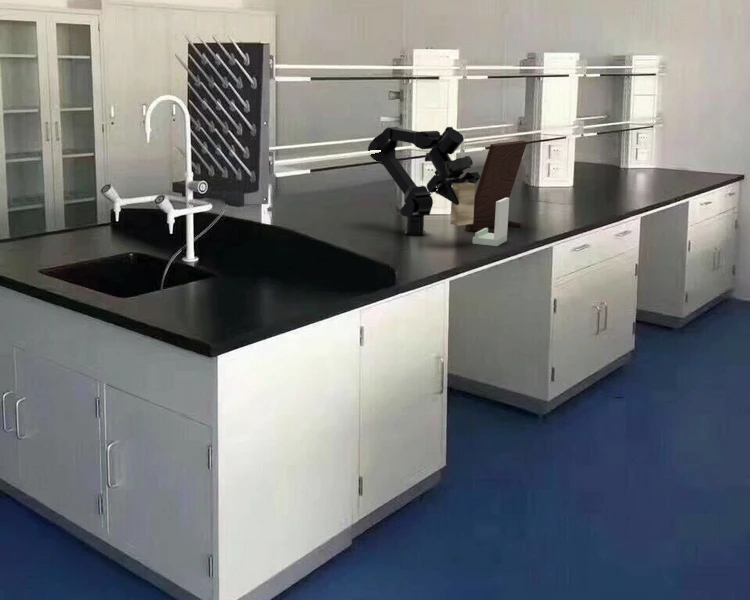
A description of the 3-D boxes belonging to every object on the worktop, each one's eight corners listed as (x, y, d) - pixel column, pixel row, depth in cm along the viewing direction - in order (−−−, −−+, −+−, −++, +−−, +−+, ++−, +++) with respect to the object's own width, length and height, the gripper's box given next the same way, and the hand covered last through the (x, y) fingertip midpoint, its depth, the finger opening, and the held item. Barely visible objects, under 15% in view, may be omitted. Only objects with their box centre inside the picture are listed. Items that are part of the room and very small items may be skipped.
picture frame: (497, 223, 324) (502, 138, 316) (523, 227, 318) (528, 140, 310) (464, 230, 308) (469, 142, 300) (491, 235, 302) (496, 144, 294)
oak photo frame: (450, 223, 282) (451, 183, 279) (464, 221, 286) (466, 182, 283) (458, 225, 280) (460, 185, 276) (473, 223, 284) (475, 183, 280)
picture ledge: (472, 243, 288) (474, 199, 284) (482, 238, 297) (484, 195, 293) (497, 246, 284) (499, 202, 281) (506, 240, 293) (509, 197, 289)
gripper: (434, 148, 274) (457, 189, 269) (477, 145, 285) (501, 185, 280) (416, 171, 282) (438, 212, 277) (459, 168, 293) (481, 206, 288)
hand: (466, 203), depth 280 cm, fingers closed on oak photo frame, 6 cm apart
